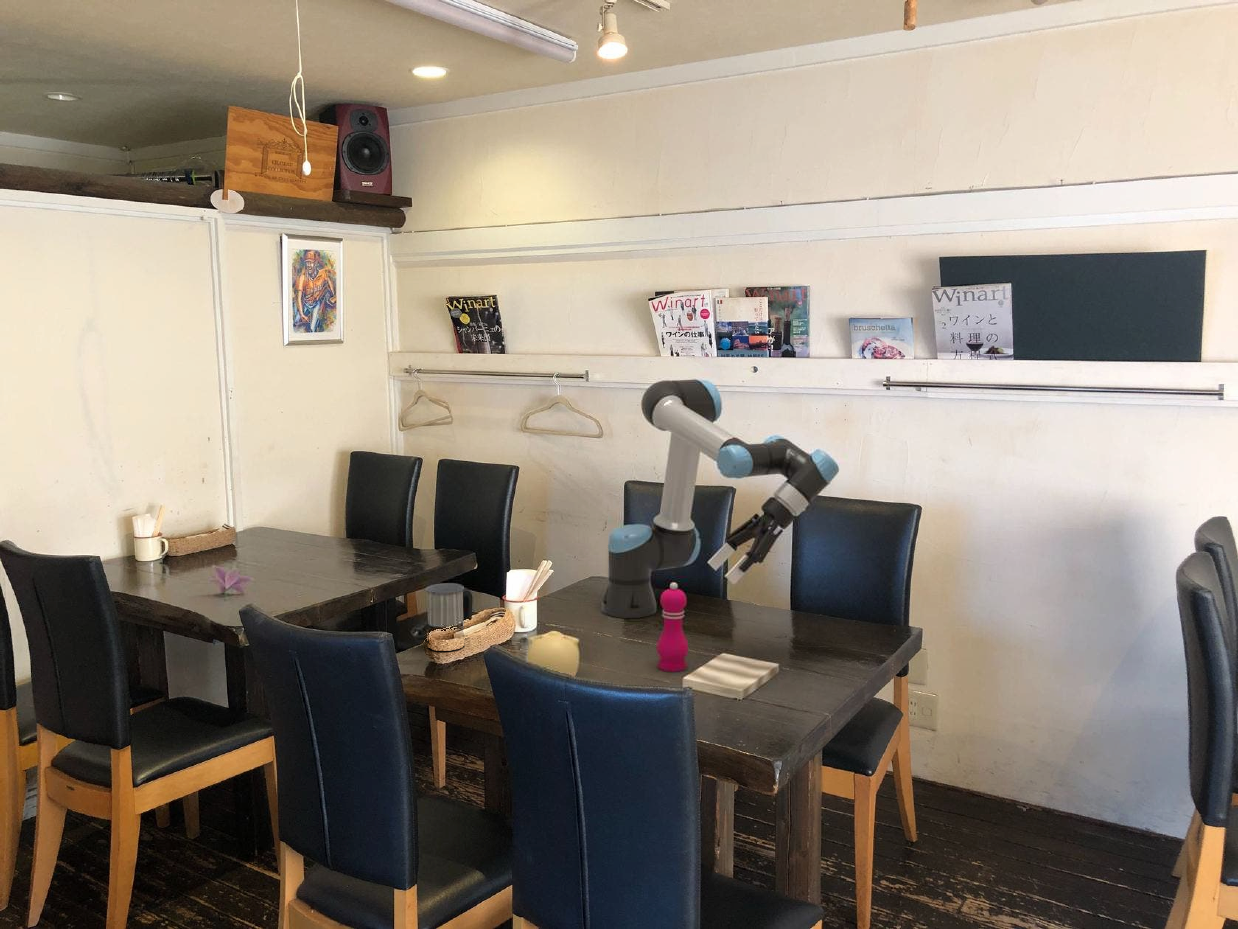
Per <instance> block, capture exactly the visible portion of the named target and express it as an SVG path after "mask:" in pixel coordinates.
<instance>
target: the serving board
mask: <svg viewBox="0 0 1238 929" xmlns="http://www.w3.org/2000/svg"><path fill="white" fill-rule="evenodd" d="M779 666H780V664H779V663H775V662H774V663H773V662H769V661H764V660H759V659H755V658H750V657H744V656H739V655H735V654H729V653H725V652H724V653H721V654H719V655H718V656H716V657H715V658H713V659H712V660H709V661H708V662H707V663H705V664H703V665H702V666H700V667H699V668H697V669H695V670H694V671H692V672H691V673H688V674H687V675H685V676H684V677H683V678H682V688H685V687H688V686H689V687H692V689H691V690H695V691H699V692H704V693H707V694H712V695H717V696H721V697H725V698H730V699H734V698H737V699H736V700H739V699H740V701H743V700H744V699H745V698H747V697H748V696H750V695H751V694H753V693H754V692H755V691H756V690H757V689H759V688H760V687H762V685H764V684H766V683H767V682H768V681H769V680H771V679H772V678H774V677H775V676H776V675H778V674H779V672H780V671H779V668H780V667H779ZM743 698H744V699H743ZM742 699H743V700H742Z"/></svg>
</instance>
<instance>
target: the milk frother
mask: <svg viewBox="0 0 1238 929" xmlns="http://www.w3.org/2000/svg"><path fill="white" fill-rule="evenodd" d="M425 591H426V592H427V593H426V594H427V595H426V596H427V600H426V602H427V621H424V622H421V623H419V624H417V625H415V626H414V627H413V628H412V629H411V632H410V636H411V638H413V639H415V640H420V641H427V640H426V638H427V636H428V635H429V633H430V632H431V631H434V630H436V629H443V628H446V627H449V626H451V627H450V629H451V628H453V627H457V628H454V630H455V629H460V630H461V629H462V628H463V621H464V620H466V619H469V620H471V619H473V603H474V602H473V598H474V597H473V593H472V591H471V590H470V589H469V588H466V587H464V585H462V584H460V583H454V582H451V583H450V582H446V583H436V584H431V585H428V586H427V587H426V588H425ZM459 622H461V623H459ZM455 624H457V625H455ZM452 625H453V626H452ZM446 629H449V628H446ZM446 629H443V630H444V631H446ZM463 629H464V628H463ZM443 630H441V631H443ZM451 630H452V629H451ZM426 632H427V634H425V633H426ZM424 634H425V635H424Z"/></svg>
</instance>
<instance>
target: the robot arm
mask: <svg viewBox="0 0 1238 929" xmlns="http://www.w3.org/2000/svg"><path fill="white" fill-rule="evenodd" d="M640 404H641V405H640V406H641V412H642V414H643V416H644V418H645V420H646V421H647V423H648V424H650V425H651V426H653V427H655V428H656V429H657V430H659V431H661V432H662V431H663V432H667V431H668V432H670V438H669V446H668V453H667V454H668V455H667V460H666V467H665V476H664V483H663V489H662V496H661V504H660V511H659V514H657V515H656V516H654V518H653V520H652V521H653V522H652V528H651V527H650V525H647V524H640V523H637V524H625V525H622V526H619V527H616V528H614V529H613V530H611V532H610V533H609V536H608V545H607V550H608V579H607V580H608V583H607V586H606V589H605V593H604V595H603V598H602V602H601V612H602V613H604V614H605V615H607V616H610V617H614V618H623V619H638V618H639V619H640V618H645V617H650V616H653V615H655V614H656V612H657V601H656V598H655V594H654V590H653V587H652V584H651V579H652V578H651V576H652V574H651V573H652V572H653V571H661V570H668V569H673V568H675V569H678V568H679V569H680V568H682V567H684V566H688V565H690V564H693V562H695V560H696V559H697V557H698V556H699V553H700V550H701V539H700V538H699V537H700V533H699V531H698V529H697V528H696V527H695V523H694V521H693V520H692V518H691V515H692V508H693V503H694V495H695V488H696V484H697V483H696V481H697V477H698V476H697V475H698V469H699V464H700V462H699V461H700V455H701V453H702V454H703V455H705V456H707V457H708V458H710V459H711V460H712V461H715V462H716V465H717V466H716V467H717V469H718V470H719V472H720V474H721V475H722V476H723V477H725V478H728V479H743V478H744V479H745V478H748V477H750V478H751V477H758V476H759V477H760V476H761V477H762V476H769V475H772V476H773V475H782V476H783V477H784V478H786V480H785V481H784V482H783V483H782V484H781V485H780V486H779V487H778V488H777V489H776V490H775V491H774V492H773V496H770V497H769V498H768V499H767V500H766V501H765V502H764V503H763V504H762V505H761V510H762V512H763V514H762V515H761V516H760V515H759V514H758V513H754V515H753V516H752V517H750V518H749V519H748V520H747V521H746V522H744V523H742V524H741V525H740V526H739V527H737V528H736V529H735V530H734V531H732V532H731V533H729V534H728V535H727V536H726V537H725V539H726V541H725V543H724V545H722V546H721V547H720V549H718V551H717V552H715V554H714V555H713V556H712V557H711V558H710V559H709V560H708V561H707V564H708V565H709V566H710V567H711V568H712V569H713V570H714V571H717V570H718V569H719V568H720V567H721V566H722V565H723V564H724V563H725V562H726V561H727V560H728V559H729V558H730V556H731V555H733V554H734V552H737V550H738V547H740V546H742V545H743V544H746V543H747V542H749V541H750V540H752V539H754V541H753V543H752V545H751V547H750V549H749V551H747V552H745V554H744V555H743V556H742V557H741V558H740V559H739V561H738V562H736V564H735V565H733V567H732V568H731V569H730V570H729V571H728V572H727V573H726V574H725V575H724V577H725V578H726V579H727V581H729V582H731V584H732V585H735V584H737V582H738V581H739V580H740V579H741V578H742V577H743V576H744V575H745V574H746V573H747V572H748V571H749V570H750V568H752V566H754V564H757V563H759V564H761V563H763V562H764V560H765V559H766V557H767V555H768V554H769V552H770V551H771V549H772V548H773V546H774V545H775V543H776V542H777V539H778V538H779V537H780V536H781V535H782V534H783V532H784V530H786V529H787V528H788V527H789V526H790V525H791V524H792V523H793V522H794V520H795V517H798V516H800V514H801V513H802V512H806V509H807V506H809V505H810V503H812V501H813V500H814V499H815V498H816V497H817V496H818V495H819V494H820V493H821V492H822V491H823V490H824V489H825V488H827V487H828V485H830V484H831V482H833V481H832V480H833V479H834V478H835V477H837V475H838V474H839V471H840V468H839V465H838V463H837V462H836V461H835V460H834V458H832V457H831V456H830V455H829V454H828V453H826V451H823V450H821V449H815V450H814V451H813V452H811V453H807V452H806V451H805V450H803V449H802V448H800V447H798V445H796V444H794V443H793V442H792V441H790V440H789V439H787V438H784V437H782V436H781V435H777V434H775V435H771V436H770V437H768V438H766V439H765V440H764V441H763V442H762V443H747V442H745V441H743V440H741V439H740V438H738V437H736V436H735V435H733V434H732V433H730V432H728V431H726V430H725V429H724V428H722V427H720V426H719V425H716V424H715V423H714V422H716V421H718V419H720V416H721V415H722V410H723V407H722V405H723V402H722V397H721V394H720V392H719V390H718V388H717V387H716V385H714V384H713V383H712V382H711V381H708V380H704V379H696V378H694V379H680V380H679V379H677V380H668V379H666V380H660V381H656V382H654V383H652V384H651V385H650V386H649V387H648V388H647V389H646V390H645V392H644V393H643V395H642V398H641V403H640Z"/></svg>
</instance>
